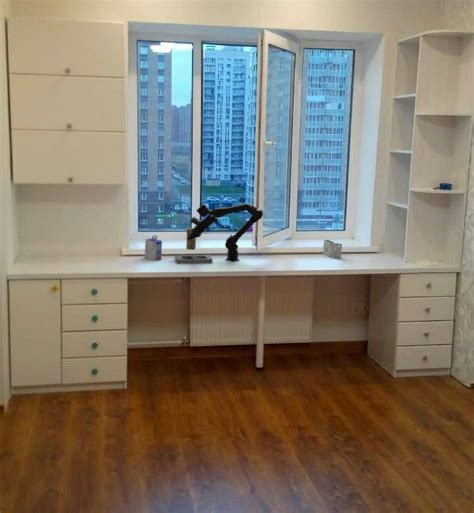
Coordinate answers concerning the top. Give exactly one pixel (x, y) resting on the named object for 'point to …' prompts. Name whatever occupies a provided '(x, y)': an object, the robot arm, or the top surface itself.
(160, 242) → the ink cartridge box
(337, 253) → the hinge
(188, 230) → the walnut peg
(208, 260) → the grey flat block
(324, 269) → the top surface
